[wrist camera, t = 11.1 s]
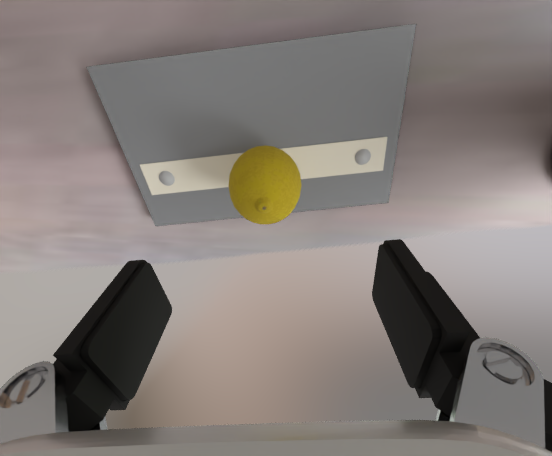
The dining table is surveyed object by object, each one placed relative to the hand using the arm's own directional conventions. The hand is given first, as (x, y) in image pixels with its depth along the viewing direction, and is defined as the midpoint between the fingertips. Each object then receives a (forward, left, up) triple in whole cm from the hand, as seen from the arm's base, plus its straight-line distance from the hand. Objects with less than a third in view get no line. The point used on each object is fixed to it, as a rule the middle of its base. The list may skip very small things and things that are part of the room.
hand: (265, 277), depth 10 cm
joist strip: (0, 0, -14) cm, 14 cm away
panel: (+2, -1, -16) cm, 16 cm away
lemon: (0, 0, -15) cm, 15 cm away
